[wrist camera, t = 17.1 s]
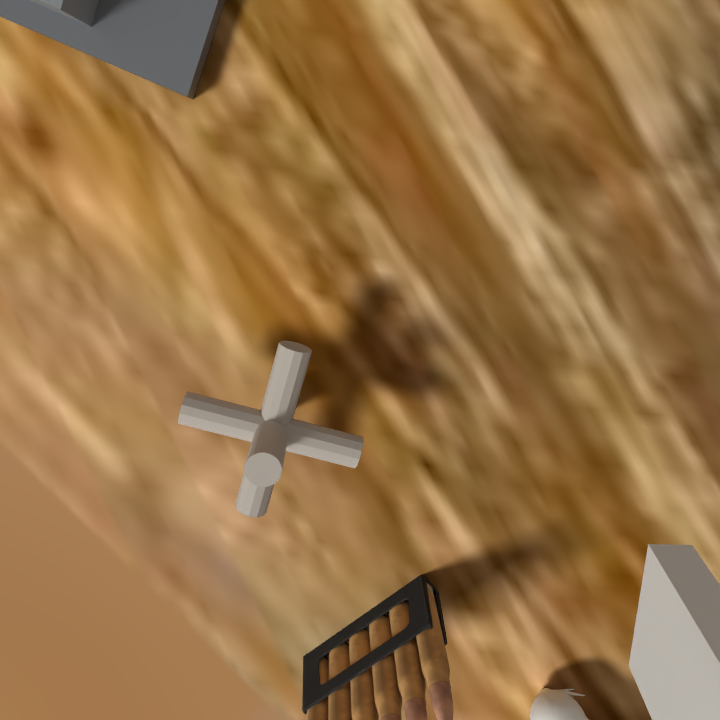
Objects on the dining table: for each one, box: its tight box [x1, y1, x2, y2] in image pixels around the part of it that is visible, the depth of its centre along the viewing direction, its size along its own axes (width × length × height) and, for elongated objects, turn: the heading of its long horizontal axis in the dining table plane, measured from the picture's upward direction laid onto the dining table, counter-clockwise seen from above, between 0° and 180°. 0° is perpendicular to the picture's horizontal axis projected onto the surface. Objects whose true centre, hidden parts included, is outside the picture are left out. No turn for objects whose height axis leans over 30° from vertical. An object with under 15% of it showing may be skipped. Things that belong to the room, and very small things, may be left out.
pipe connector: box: [178, 341, 364, 517], centre depth 37 cm, size 10×10×10 cm
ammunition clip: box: [302, 575, 453, 720], centre depth 41 cm, size 11×2×12 cm, turn 128°
